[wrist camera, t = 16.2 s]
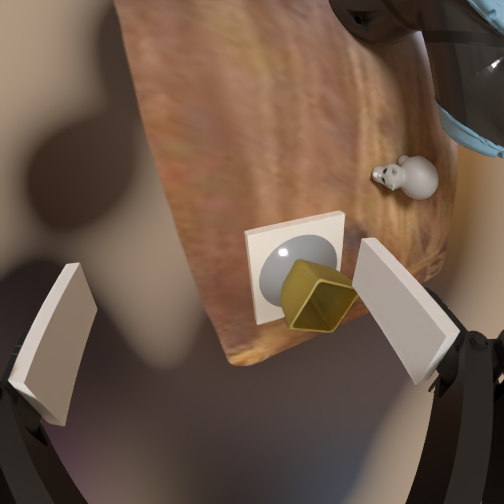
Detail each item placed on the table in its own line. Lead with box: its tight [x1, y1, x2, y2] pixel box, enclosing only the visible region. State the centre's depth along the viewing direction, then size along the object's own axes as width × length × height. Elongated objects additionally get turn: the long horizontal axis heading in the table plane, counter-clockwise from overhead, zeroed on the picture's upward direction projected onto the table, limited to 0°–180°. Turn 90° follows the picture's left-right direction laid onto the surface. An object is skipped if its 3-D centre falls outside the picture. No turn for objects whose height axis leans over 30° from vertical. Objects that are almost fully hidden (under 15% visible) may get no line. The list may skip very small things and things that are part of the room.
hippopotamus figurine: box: [372, 155, 438, 200], centre depth 40 cm, size 7×12×8 cm, turn 93°
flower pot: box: [280, 259, 358, 333], centre depth 42 cm, size 9×9×9 cm
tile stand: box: [244, 210, 345, 325], centre depth 47 cm, size 16×18×2 cm
